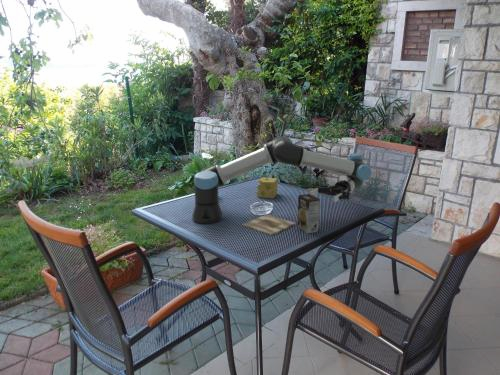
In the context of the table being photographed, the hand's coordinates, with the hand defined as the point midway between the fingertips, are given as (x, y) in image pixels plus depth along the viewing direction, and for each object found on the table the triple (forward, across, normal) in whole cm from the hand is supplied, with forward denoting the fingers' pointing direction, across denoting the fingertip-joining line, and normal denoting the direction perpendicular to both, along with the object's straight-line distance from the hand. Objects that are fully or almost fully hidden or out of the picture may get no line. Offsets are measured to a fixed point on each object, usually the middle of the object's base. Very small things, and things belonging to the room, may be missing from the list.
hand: (321, 196), depth 194 cm
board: (+18, +18, -14) cm, 29 cm away
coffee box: (+10, 0, -14) cm, 18 cm away
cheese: (-18, +48, -14) cm, 53 cm away
